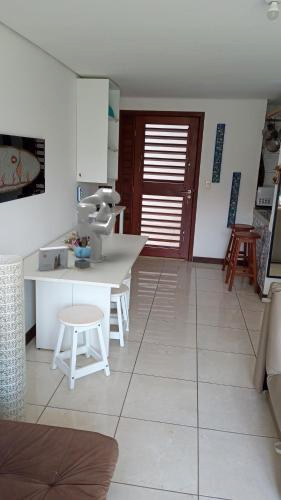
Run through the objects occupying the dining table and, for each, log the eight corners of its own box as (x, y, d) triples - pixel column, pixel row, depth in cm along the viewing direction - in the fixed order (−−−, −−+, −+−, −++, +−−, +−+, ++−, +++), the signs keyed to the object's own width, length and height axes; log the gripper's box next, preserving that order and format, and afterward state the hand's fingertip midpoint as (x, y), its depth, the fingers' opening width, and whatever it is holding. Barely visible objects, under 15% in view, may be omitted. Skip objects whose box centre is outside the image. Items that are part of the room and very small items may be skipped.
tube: (83, 264, 291) (83, 258, 290) (92, 268, 284) (92, 261, 282) (71, 267, 283) (71, 260, 282) (80, 270, 276) (80, 263, 275)
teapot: (77, 259, 305) (78, 247, 302) (70, 254, 317) (71, 242, 315) (94, 258, 313) (94, 245, 310) (86, 253, 325) (87, 241, 322)
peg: (83, 245, 283) (83, 236, 281) (87, 247, 280) (87, 238, 278) (78, 246, 280) (78, 237, 278) (82, 248, 277) (82, 238, 275)
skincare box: (41, 271, 269) (41, 249, 265) (38, 269, 273) (38, 248, 269) (68, 268, 281) (68, 247, 277) (65, 266, 285) (65, 245, 282)
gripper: (89, 219, 283) (88, 243, 288) (70, 222, 271) (70, 246, 276) (95, 221, 278) (95, 245, 283) (77, 223, 266) (76, 248, 271)
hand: (82, 245), depth 280 cm, fingers closed on peg, 4 cm apart
